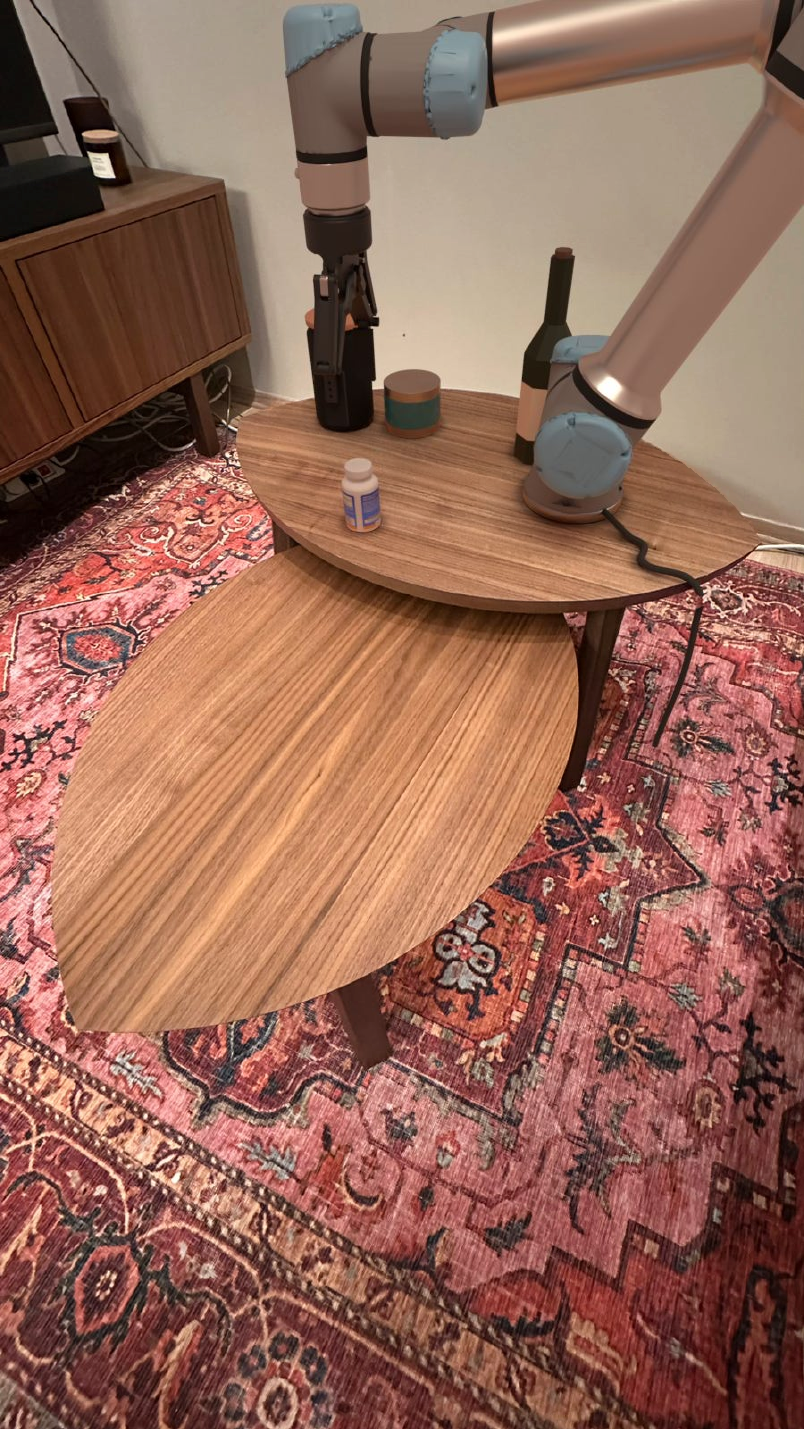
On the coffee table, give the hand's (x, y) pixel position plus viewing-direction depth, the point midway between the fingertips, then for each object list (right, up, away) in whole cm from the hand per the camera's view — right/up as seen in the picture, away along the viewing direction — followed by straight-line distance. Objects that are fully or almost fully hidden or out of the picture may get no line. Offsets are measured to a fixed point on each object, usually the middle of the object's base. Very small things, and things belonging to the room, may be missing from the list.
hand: (352, 401), depth 91 cm
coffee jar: (-4, +13, +37) cm, 39 cm away
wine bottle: (+30, +3, +27) cm, 40 cm away
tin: (+8, +11, +35) cm, 38 cm away
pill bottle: (+1, -13, +14) cm, 19 cm away
